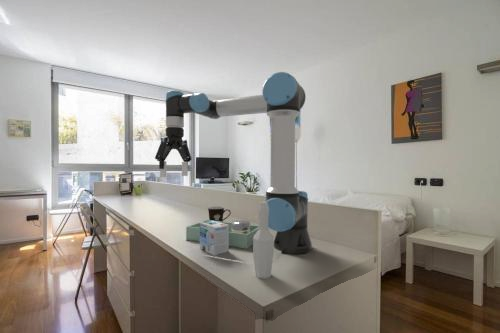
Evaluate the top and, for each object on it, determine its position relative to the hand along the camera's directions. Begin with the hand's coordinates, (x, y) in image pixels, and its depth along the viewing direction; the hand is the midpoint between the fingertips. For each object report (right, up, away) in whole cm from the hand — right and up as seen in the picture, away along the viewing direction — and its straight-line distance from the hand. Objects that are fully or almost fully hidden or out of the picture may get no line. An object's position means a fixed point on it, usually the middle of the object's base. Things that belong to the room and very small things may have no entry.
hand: (174, 176), depth 111 cm
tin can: (+29, -28, -2) cm, 40 cm away
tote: (+22, -28, +2) cm, 36 cm away
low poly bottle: (+37, -29, -34) cm, 58 cm away
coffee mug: (+16, -28, +27) cm, 42 cm away
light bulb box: (+19, -28, -13) cm, 37 cm away
